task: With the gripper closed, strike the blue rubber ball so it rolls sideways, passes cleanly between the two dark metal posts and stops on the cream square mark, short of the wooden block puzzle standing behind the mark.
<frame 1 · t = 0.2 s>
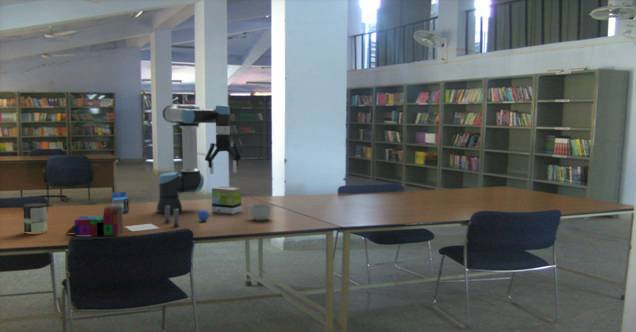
hand: (223, 173, 300), 27 cm above the table, tool pointing down, fingers open, 13 cm apart
label tape box: (120, 213, 329), on the table
ball: (203, 215, 304), on the table
gate posts: (171, 224, 294), on the table
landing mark: (141, 227, 285), on the table
block puzzle: (95, 233, 273), on the table
teacup: (258, 219, 309), on the table
coffee can: (35, 233, 273), on the table
tea box: (226, 212, 333), on the table
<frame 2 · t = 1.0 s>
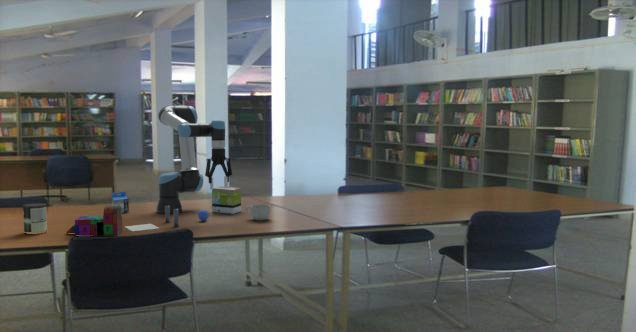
hand: (219, 188, 308), 17 cm above the table, tool pointing down, fingers open, 8 cm apart
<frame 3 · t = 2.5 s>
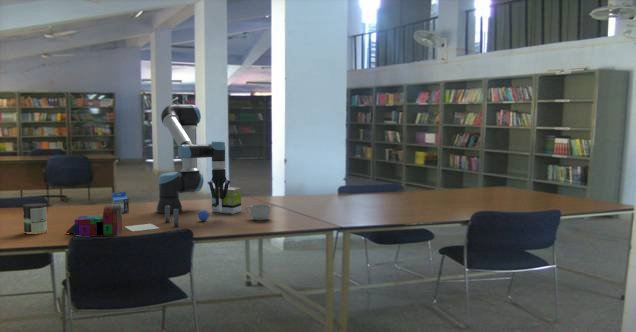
hand: (219, 210, 309), 5 cm above the table, tool pointing down, fingers closed
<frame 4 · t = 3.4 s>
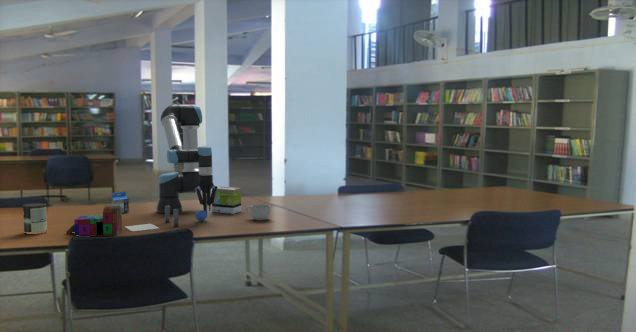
hand: (207, 216, 306), 2 cm above the table, tool pointing down, fingers closed
ball: (201, 215, 303), on the table, touching gripper
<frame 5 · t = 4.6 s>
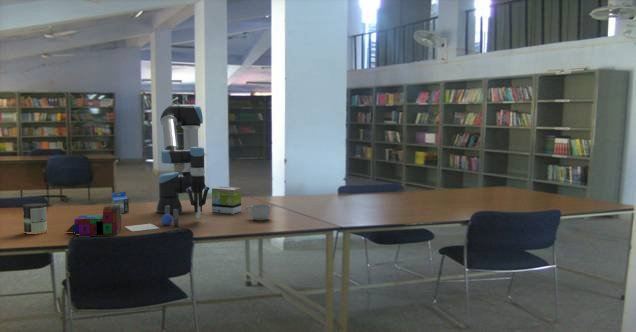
hand: (198, 217, 303), 2 cm above the table, tool pointing down, fingers closed
ball: (166, 219, 292), on the table
block puzzle: (94, 232, 275), on the table
everything else where it was.
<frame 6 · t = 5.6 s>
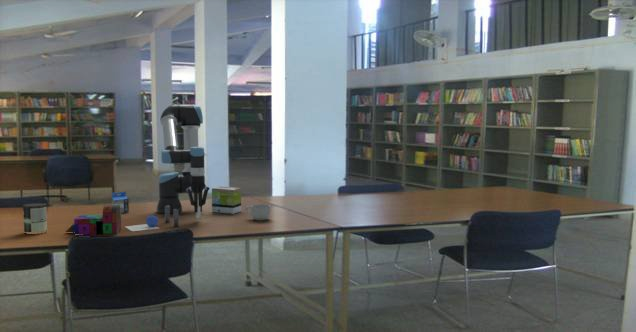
hand: (198, 217, 303), 2 cm above the table, tool pointing down, fingers closed
ball: (152, 221, 287), on the table
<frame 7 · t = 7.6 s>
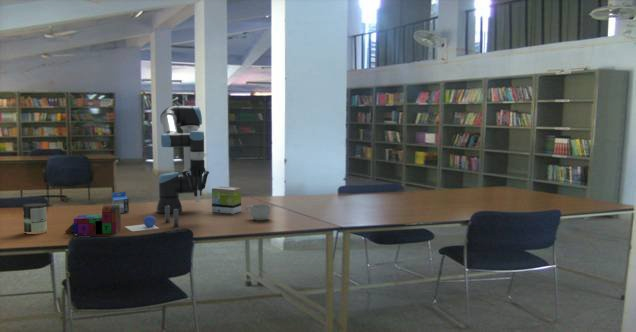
hand: (197, 201, 303), 11 cm above the table, tool pointing down, fingers closed
ball: (149, 221, 287), on the table
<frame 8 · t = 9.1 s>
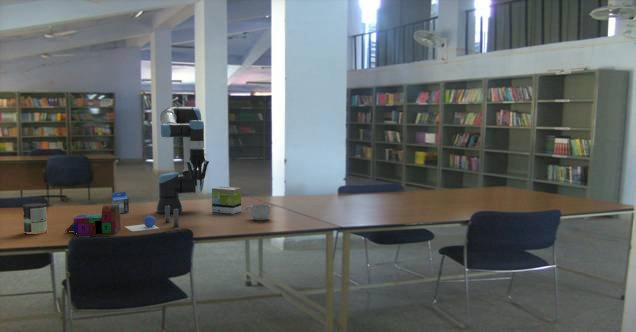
hand: (197, 191, 301), 16 cm above the table, tool pointing down, fingers closed
at the end: ball 3.9 cm from the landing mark (horizontally); ball never touched gate posts; ball never touched block puzzle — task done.
